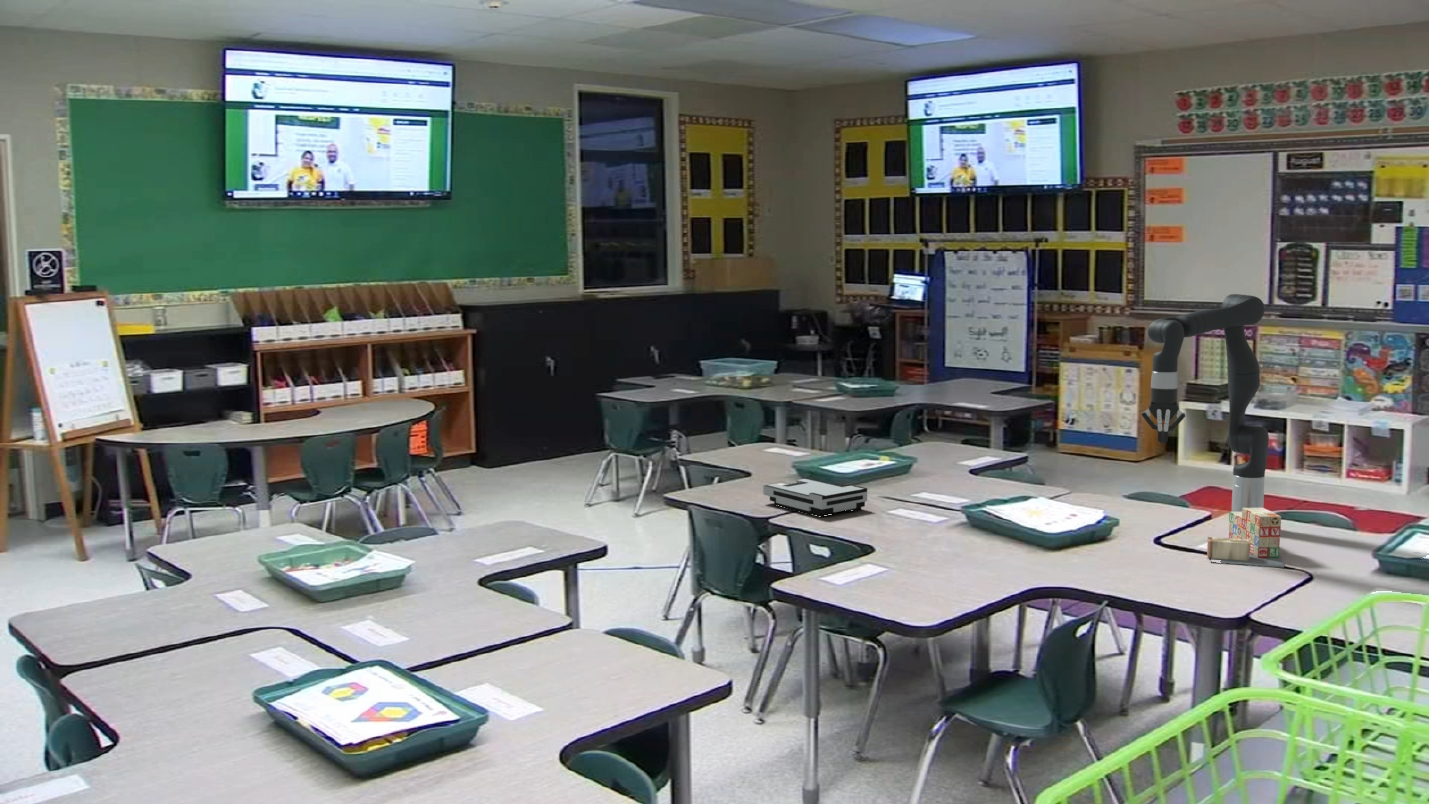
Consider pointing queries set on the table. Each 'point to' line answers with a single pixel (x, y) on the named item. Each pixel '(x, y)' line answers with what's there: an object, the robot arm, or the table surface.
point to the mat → (1256, 561)
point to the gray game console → (816, 496)
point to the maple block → (1228, 548)
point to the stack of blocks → (1257, 530)
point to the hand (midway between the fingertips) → (1162, 443)
